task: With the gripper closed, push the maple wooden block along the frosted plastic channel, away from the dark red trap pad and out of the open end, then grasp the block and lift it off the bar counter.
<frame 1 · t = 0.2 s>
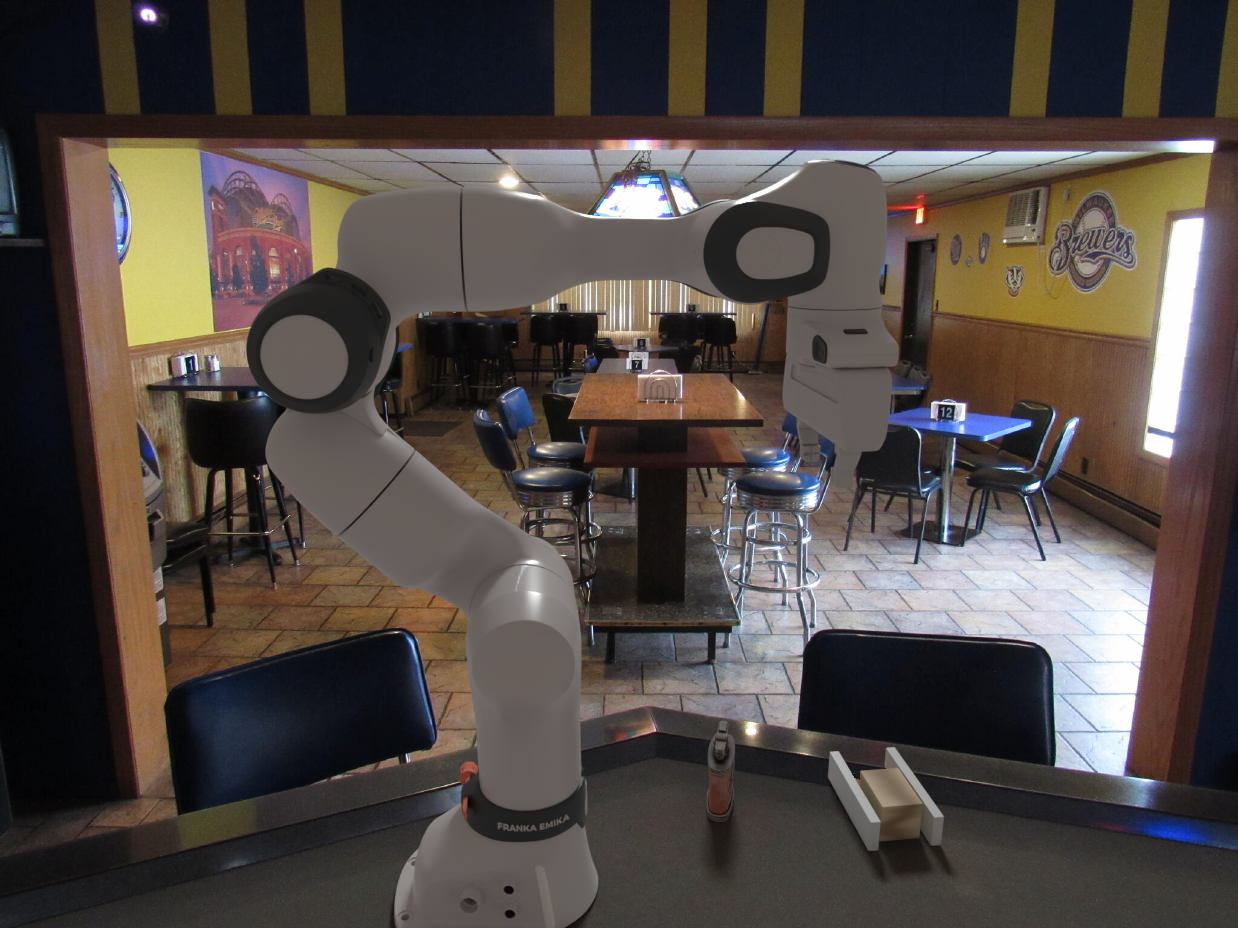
hand: (824, 472, 86), 47 cm above the counter, tool pointing down, fingers open, 8 cm apart
maple block: (887, 820, 105), on the counter
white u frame: (881, 809, 107), on the counter
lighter: (720, 802, 109), on the counter
trap pad: (865, 784, 112), on the counter
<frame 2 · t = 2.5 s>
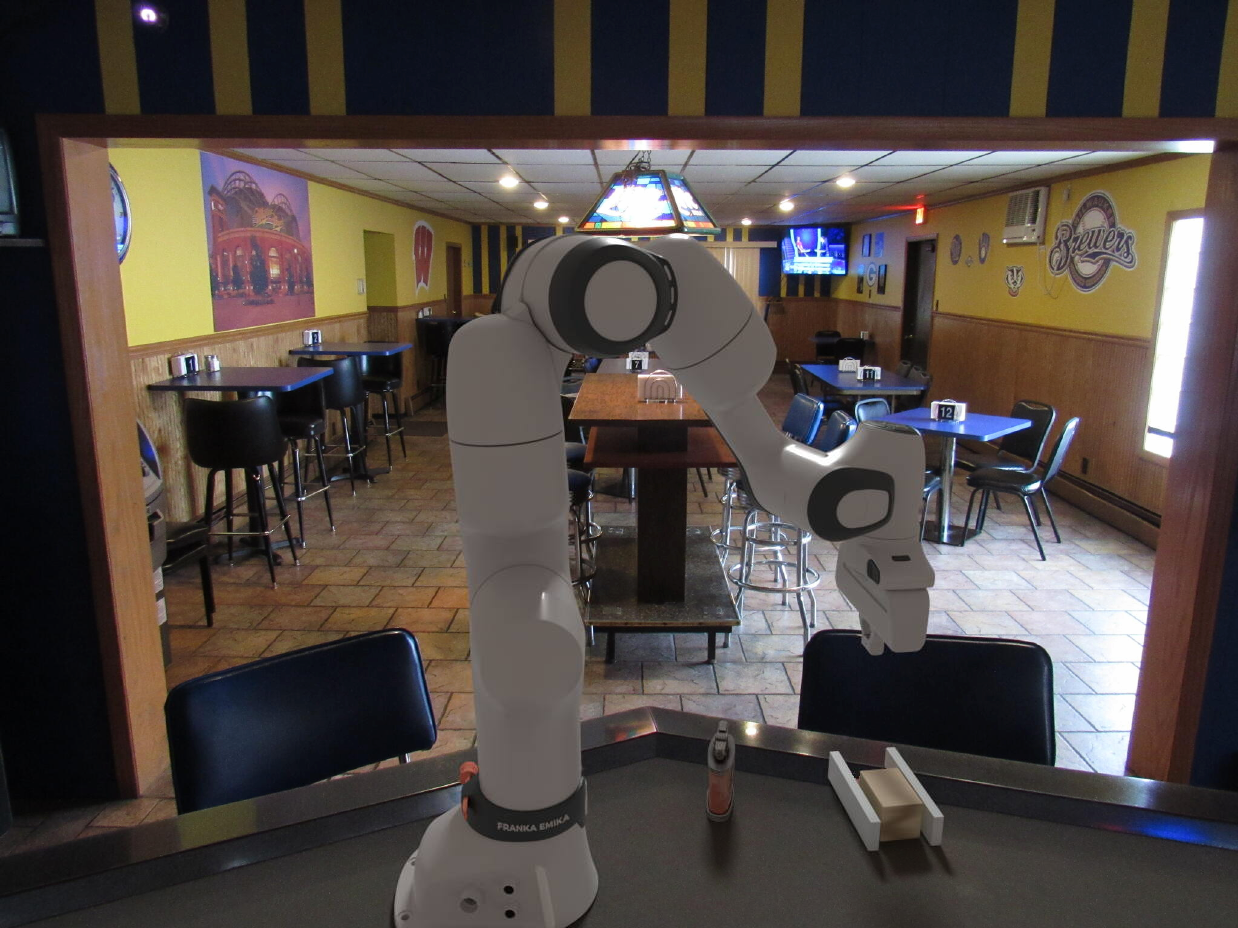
hand: (871, 649, 108), 19 cm above the counter, tool pointing down, fingers closed
nothing on the counter moved.
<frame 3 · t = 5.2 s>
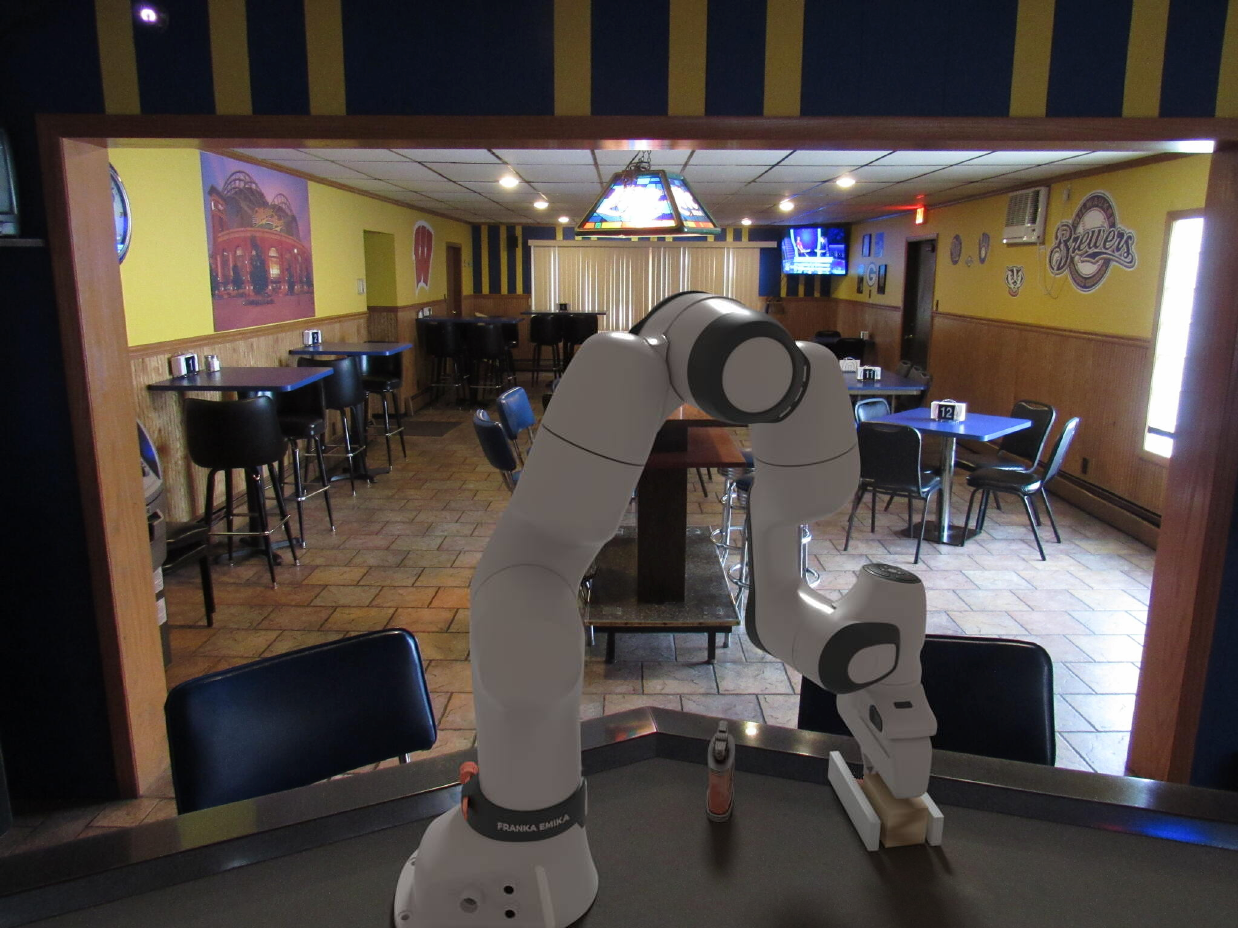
hand: (873, 782, 109), 2 cm above the counter, tool pointing down, fingers closed
maple block: (891, 825, 104), on the counter, touching gripper
everything else where it was.
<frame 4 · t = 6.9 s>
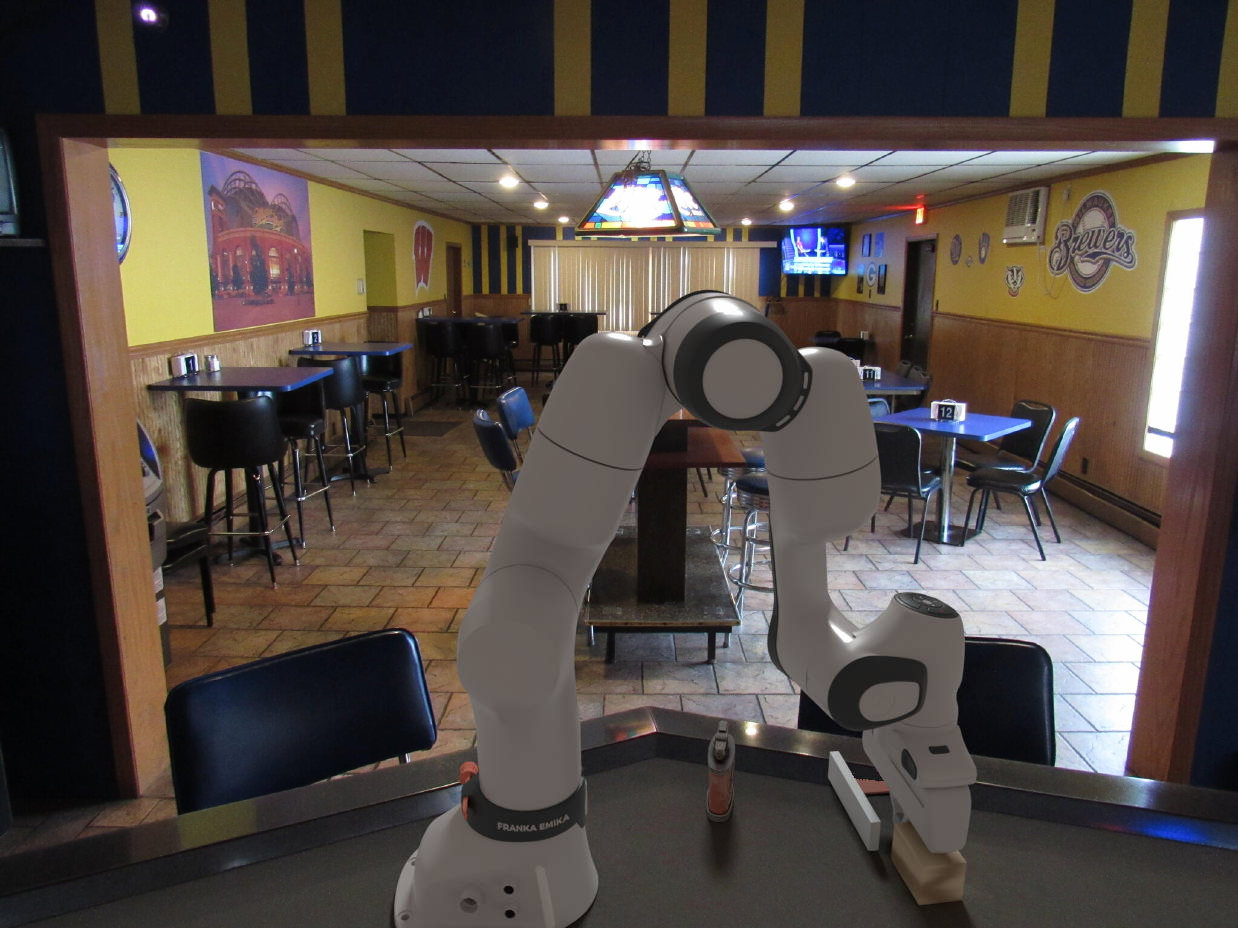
hand: (904, 829, 100), 2 cm above the counter, tool pointing down, fingers closed
maple block: (925, 878, 96), on the counter, touching gripper
everything else where it was.
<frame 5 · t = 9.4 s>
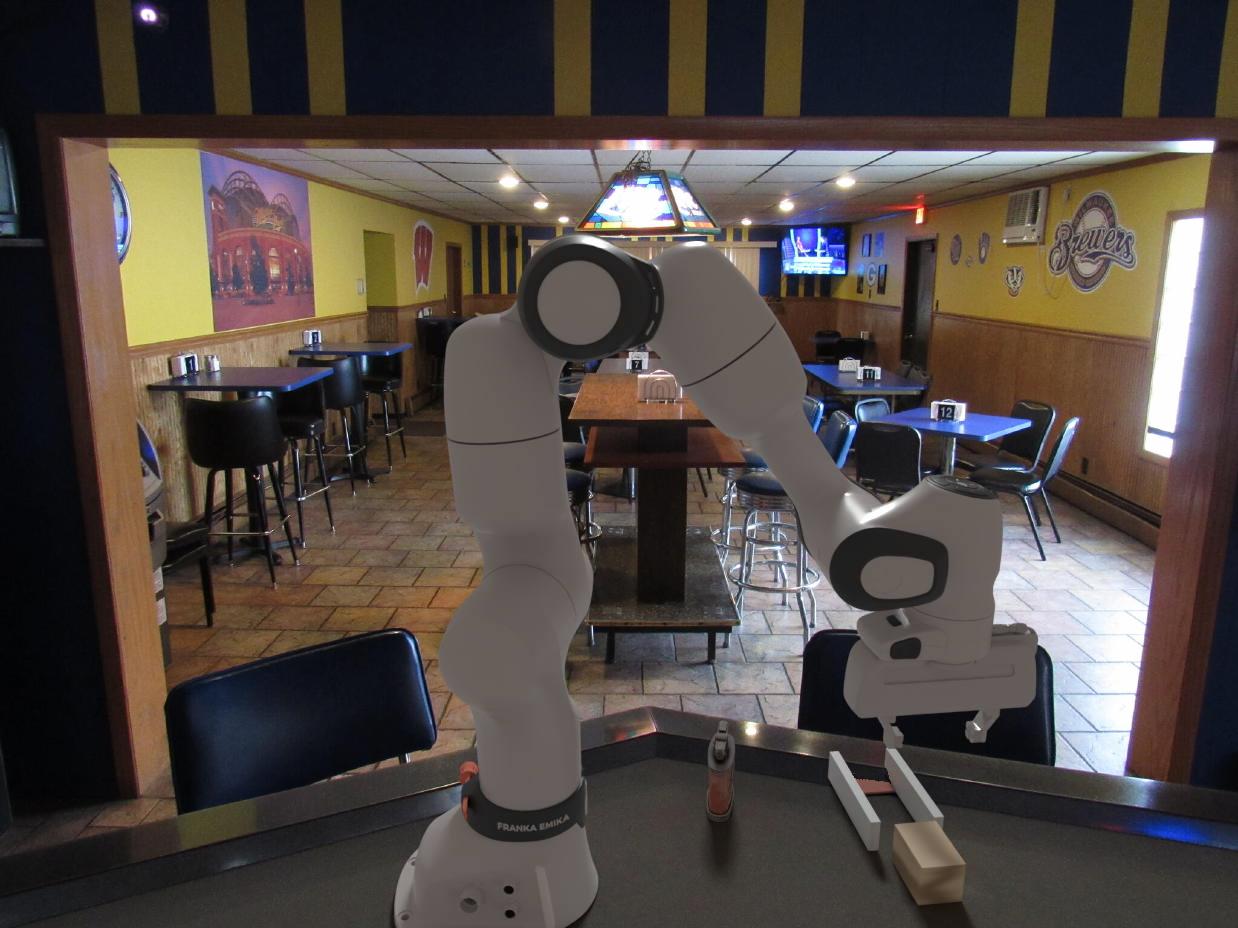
hand: (933, 742, 92), 17 cm above the counter, tool pointing down, fingers open, 8 cm apart
maple block: (925, 880, 96), on the counter
everything else where it was.
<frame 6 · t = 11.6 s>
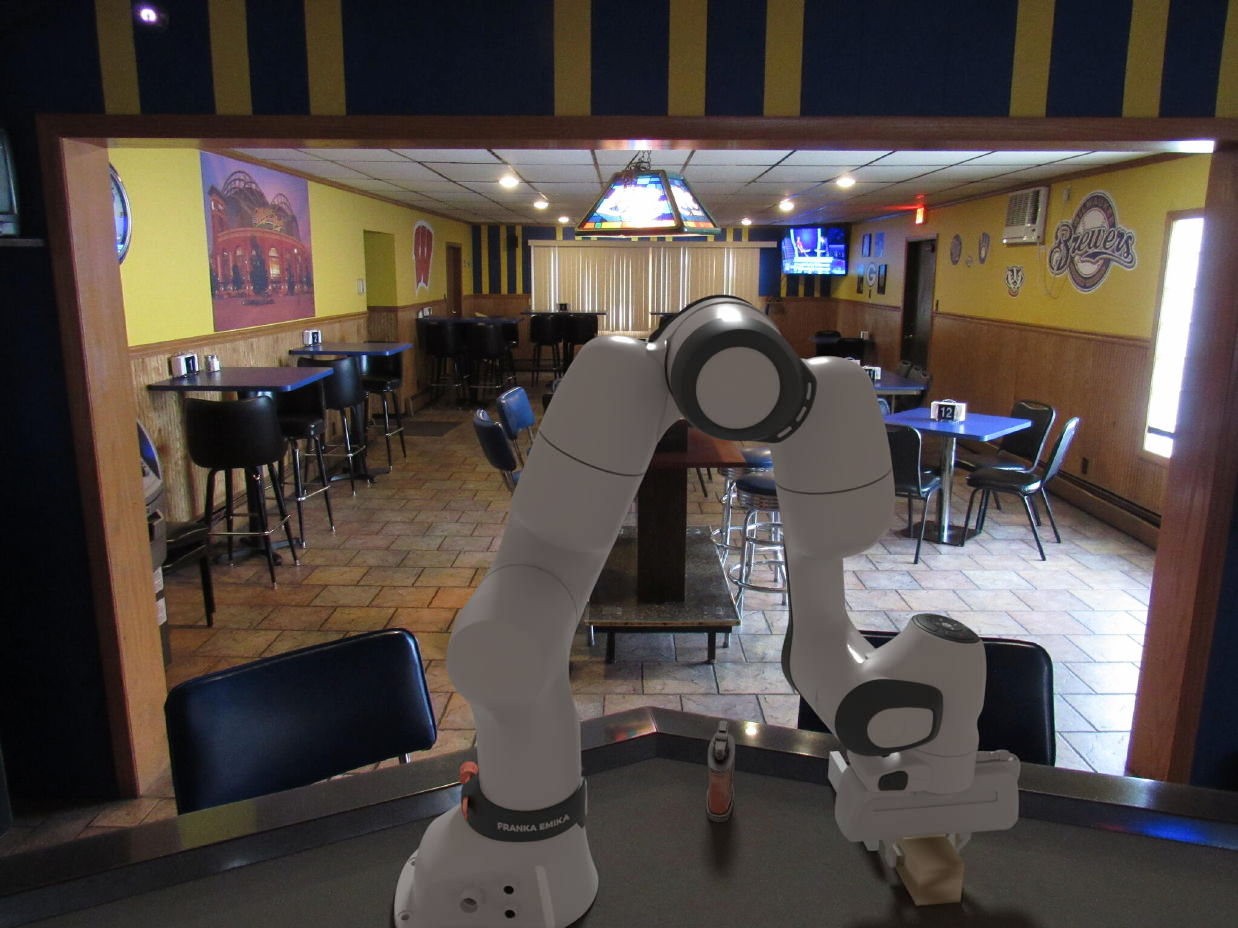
hand: (921, 860, 96), 2 cm above the counter, tool pointing down, fingers closed on maple block, 5 cm apart
maple block: (924, 879, 96), on the counter, touching gripper
everything else where it was.
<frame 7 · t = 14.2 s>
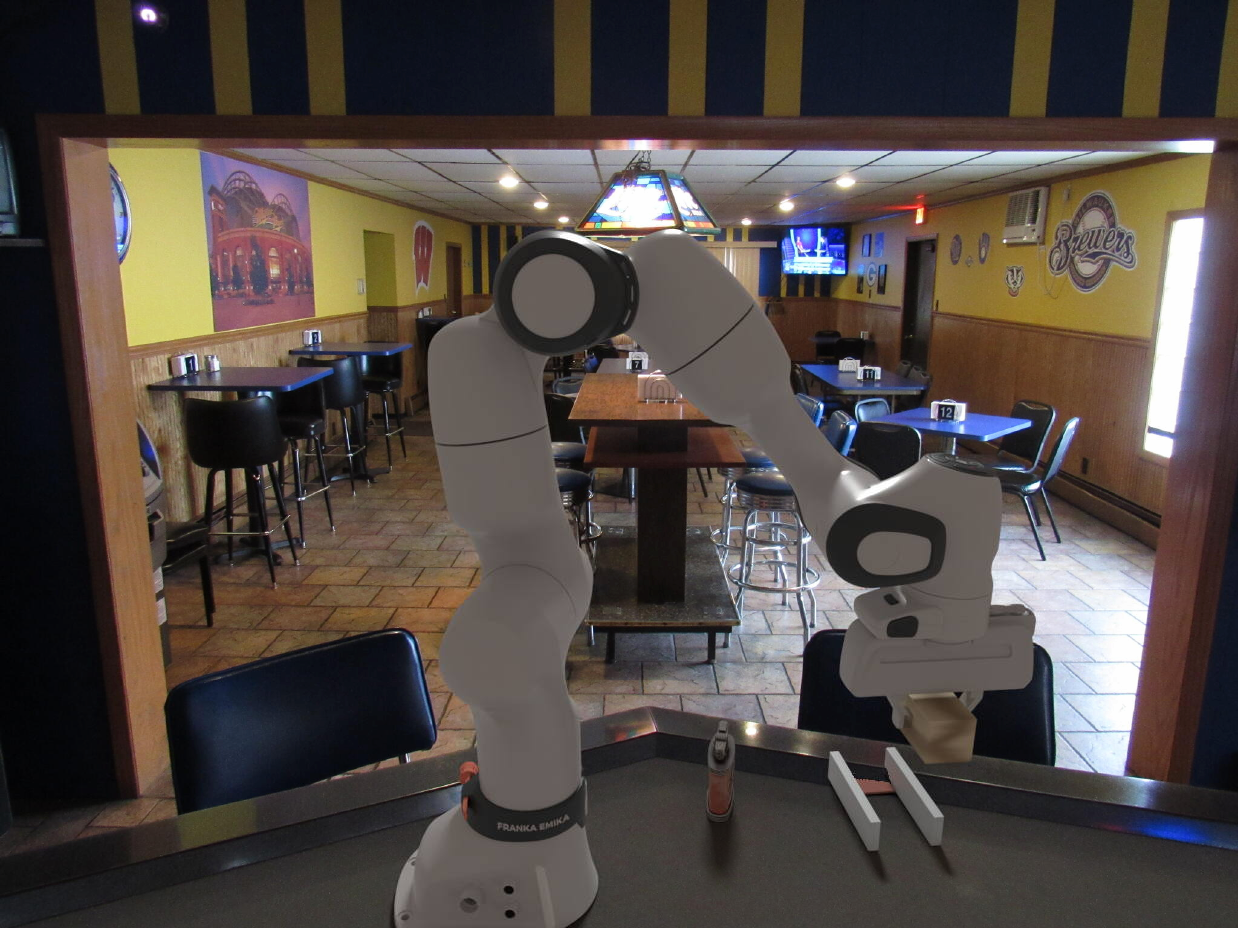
hand: (929, 723, 91), 19 cm above the counter, tool pointing down, fingers closed on maple block, 5 cm apart
maple block: (932, 742, 91), point 18 cm above the counter, touching gripper
everything else where it was.
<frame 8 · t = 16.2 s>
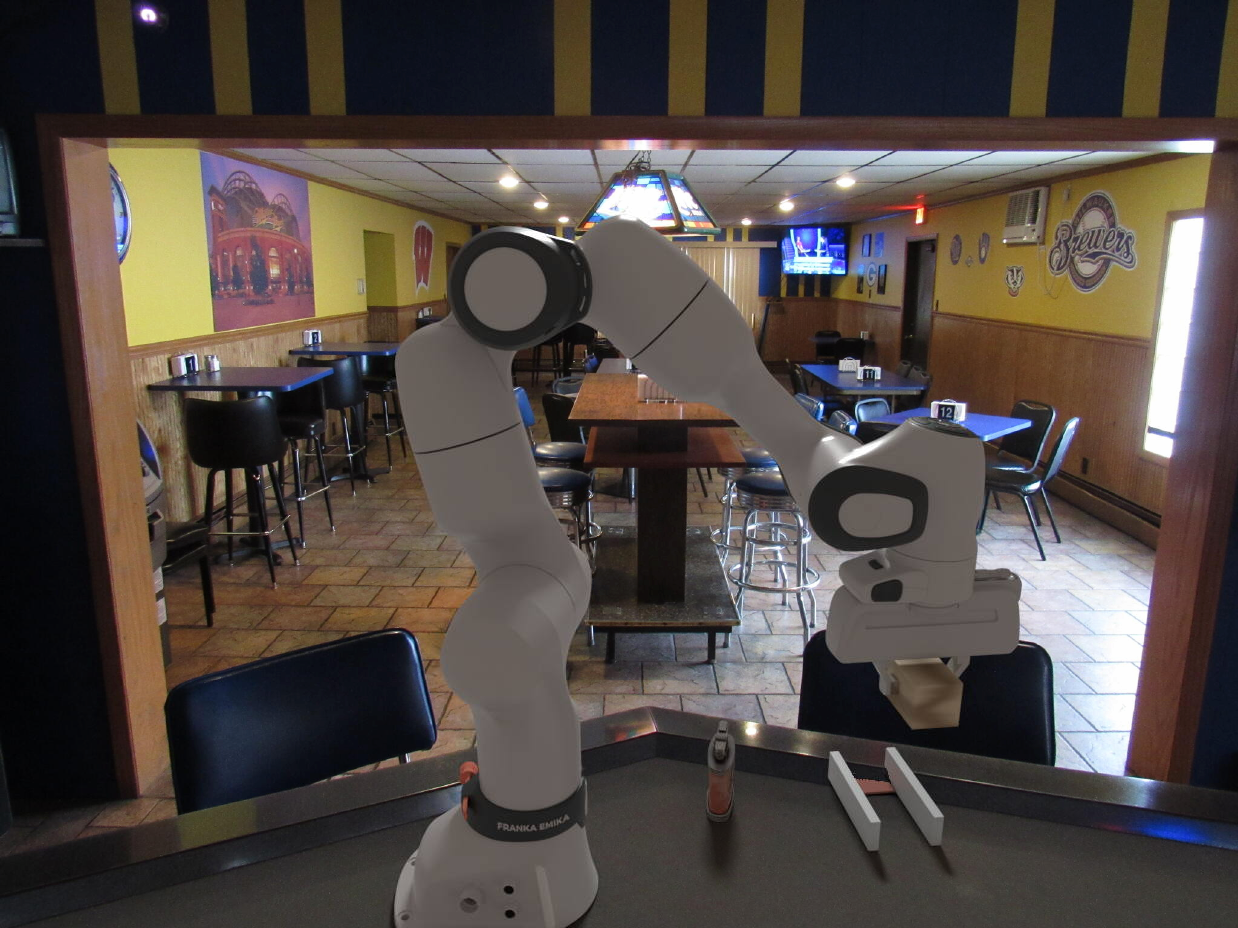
hand: (916, 690, 91), 23 cm above the counter, tool pointing down, fingers closed on maple block, 5 cm apart
maple block: (920, 709, 90), point 21 cm above the counter, touching gripper
everything else where it was.
at the end: the gripper is holding maple block; maple block inside the target area (1.0 cm from its centre), point 21.4 cm above the counter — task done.
